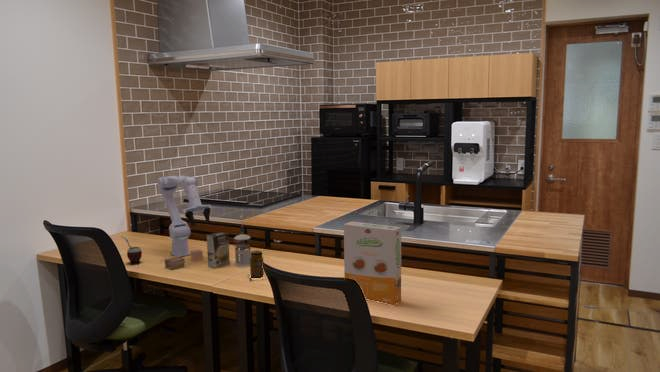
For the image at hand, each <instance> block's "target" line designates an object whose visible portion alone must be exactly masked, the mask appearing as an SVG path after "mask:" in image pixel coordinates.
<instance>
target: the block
mask: <svg viewBox="0 0 660 372" xmlns="http://www.w3.org/2000/svg"><path fill="white" fill-rule="evenodd" d="M190 253H191V255H190V260H191V261H193V262H200V261H203V260H204V259H203V250H202V249H200V248H197V249H193V250H190Z"/></svg>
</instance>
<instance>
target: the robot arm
mask: <svg viewBox="0 0 660 372" xmlns="http://www.w3.org/2000/svg"><path fill="white" fill-rule="evenodd" d="M156 183H157V184H156V186H157V189H158V191H159V194H160V195H162V196H163V199H164V202H165V205H166V208H167V211H168V214H169V217H170V220H171V224H170V225H169V227H168V231H169V237H170V238H171V239H172V240H171V252H170V254H171V256H173V257H174V256H179V257H185V256H191V252H190V251H189V245H188V244H189V242H188V239H189V237H190V235H191V228H190V226H189V224H188V222H187V221H185V220H183V219H182V218H181V214H180V211H179V209H178V206H177V202H176V200H175V198H174V194H175V193H176V192H177V189H178V187H181V188H183V190H184V193H186V197H187V201H188V203H189V207H188V208H183V209H182V213H183V215H184V216H185V218H187V219H188V220H189V222H190V224H191V226H192V227H195V226H196V221H195V217H194V213H195V212H199V211H202V215H204V216H203V217H204V218H205V223H206V224H207V225H208V224H209V223H211V222H210V216H211V215H210V213H211V209H212V206H211V204H202V202H201V198H200V195H199V191H198V188H197V187H198V180H197V178H196V177H195V175H193V176H188V175H184V174H180V175H179V176H178V175H170V176H169V175H168V176H162V177H161V176H160V177H158V178H157V182H156Z"/></svg>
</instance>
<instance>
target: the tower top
mask: <svg viewBox="0 0 660 372" xmlns="http://www.w3.org/2000/svg"><path fill="white" fill-rule="evenodd" d="M185 259H186V258H185V257H183V256H181V257H179V256H174V255H173V256H170V257H167V258H164V265H165V264H167V265H170V266H175V265H179V264H183V263H184V264H185V263H186V260H185Z"/></svg>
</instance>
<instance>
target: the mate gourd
mask: <svg viewBox="0 0 660 372" xmlns="http://www.w3.org/2000/svg"><path fill="white" fill-rule="evenodd" d="M121 238H122V239H124V240H125V242H127V244H128V247H129V248H128V249H127V252H126V253H127V254H126V256H127V259H128V260H129V263H130V264H129V265H131V266H133V265H135V264H137V265H140V264H141V259H142V255H143V252H142V249H141V248H140V246H131V245H130V241H129V240H128V238H126V237H125V236H123V235H122V236H121Z"/></svg>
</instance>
